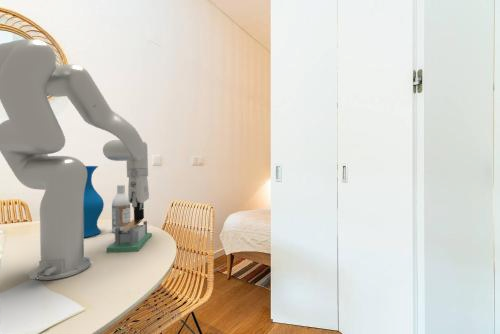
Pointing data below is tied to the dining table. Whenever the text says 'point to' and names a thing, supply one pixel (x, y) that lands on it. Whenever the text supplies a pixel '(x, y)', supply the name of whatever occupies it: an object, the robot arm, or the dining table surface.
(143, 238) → the grey and green block
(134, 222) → the tan wooden bar
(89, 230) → the vase
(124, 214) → the bath foam
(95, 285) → the dining table surface
